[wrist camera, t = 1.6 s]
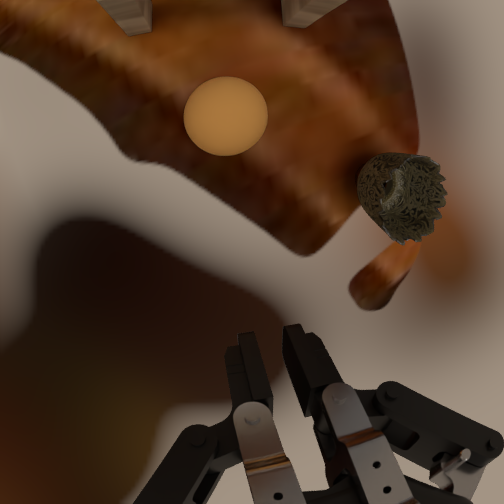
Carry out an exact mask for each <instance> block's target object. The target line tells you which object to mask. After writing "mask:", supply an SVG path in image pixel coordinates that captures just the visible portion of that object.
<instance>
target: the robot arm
mask: <svg viewBox="0 0 504 504" xmlns="http://www.w3.org/2000/svg"><path fill="white" fill-rule="evenodd" d="M237 335H238V346H230V347H227V350H226V353H225V356H224V357H225V364H226V370H227V376H228V382H229V388H230V394H231V399H232V411H231V413H230V415H229V416H228V417H227V418H226V419H225V420H224V421H222V422H220V423H218V424H215V425H213V426H211V427H207V426H205V425H200V424H196V425H191V426H189V427H187V428H185V429H184V430H183V431H182V432H181V434H180V435H179V437H178V438H177V440H176V441H175V443H174V444H173V446H172V447H171V449H170V450H169V452H168V453H167V455H166V456H165V458H164V459H163V461H162V462H161V464H160V465H159V467H158V468H157V470H156V471H155V473H154V474H153V475H152V477H151V478H150V480H149V481H148V483H147V484H146V486H145V487H144V489H143V490H142V491H141V493H140V494H139V496H138V497H137V499H136V500H135V501H134V503H133V504H206V503H207V501H208V500H209V498H210V496H211V494H212V493H213V491H214V489H215V487H216V486H217V483H218V482H219V480H220V478H221V476H222V475H223V473H224V471H225V469H227V468H230V467H232V466H234V465H236V464H238V463H241V462H243V464H244V468H245V472H246V476H247V479H248V483H249V487H250V491H251V494H252V498H253V501H254V504H473V503H472V502H471V501H470V500H471V498H472V496H473V494H474V492H475V490H476V488H477V486H478V483H479V481H480V479H481V476H482V474H483V471H484V469H485V467H486V465H487V464H488V463H490V462H491V461H492V460H494V459H495V458H496V457H498V456H499V455H500V454H501V452H502V451H503V448H504V440H503V437H502V435H501V434H500V433H499V432H497V431H495V430H493V429H491V428H488V427H486V426H484V425H482V424H480V423H478V422H476V421H473V420H471V419H469V418H467V417H465V416H463V415H461V414H459V413H457V412H455V411H453V410H451V409H449V408H447V407H445V406H442V405H440V404H438V403H437V402H435V401H433V400H431V399H429V398H427V397H425V396H423V395H421V394H419V393H417V392H415V391H413V390H411V389H409V388H407V387H406V386H404V385H402V384H400V383H398V382H394V381H387V382H384V383H382V384H381V385H380V386H379V387H378V389H376V390H357V389H353V388H352V387H351V386H350V385H348V384H345V383H344V382H343V380H342V378H341V376H340V374H339V373H338V371H337V369H336V367H335V365H334V363H333V361H332V359H331V357H330V356H329V353H328V352H327V350H326V349H325V346H324V344H323V342H322V340H321V339H320V338H319V337H318V336H317V335H315V334H314V333H313V332H311V333H306V334H305V332H304V330H303V328H302V326H301V324H294V325H288V326H284V327H283V335H282V355H283V359H284V363H285V365H286V368H287V371H288V374H289V376H290V379H291V382H292V384H293V387H294V390H295V392H296V395H297V398H298V401H299V403H300V406H301V409H302V411H303V414H304V417H309V416H312V418H313V420H314V425H313V430H314V433H315V436H316V439H317V442H318V445H319V448H320V451H321V454H322V457H323V460H324V463H325V475H326V479H327V482H328V485H329V489H327V490H322V491H321V490H320V491H305V492H302V491H301V488H300V485H299V483H298V480H297V477H296V474H295V472H294V469H293V467H292V464H291V462H290V460H289V458H288V457H286V455H285V453H284V450H283V447H282V444H281V441H280V438H279V435H278V432H277V429H276V427H275V424H274V421H273V394H272V391H271V387H270V384H269V381H268V378H267V374H266V371H265V368H264V364H263V361H262V357H261V354H260V350H259V347H258V343H257V340H256V336H255V333H254V331H252V332H246V333H239V334H237ZM392 451H393V452H395V453H397V454H398V455H400V456H402V457H404V458H406V459H408V460H410V461H412V462H414V463H416V464H417V465H419V466H422V467H423V468H425V469H427V470H429V471H430V476H429V480H430V481H431V482H433V483H435V484H437V485H438V486H439V488H440V489H439V488H436V487H433V486H431V485H428V484H426V483H423V482H420V481H417V480H415V479H413V478H411V477H408V476H406V475H403V473H402V471H401V469H400V467H399V465H398V462H397V460H396V458H395V456H394V454H393V452H392ZM373 467H374V468H373Z"/></svg>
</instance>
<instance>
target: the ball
mask: <svg viewBox="0 0 504 504" xmlns="http://www.w3.org/2000/svg"><path fill="white" fill-rule="evenodd" d="M267 120H268V111H267V106H266V102H265V100H264V98H263V96H262V94H261V93H260V92H259V91H258V90H257V88H256V87H254V86H253V85H252V84H250V83H249V82H247V81H245V80H243V79H240V78H236V77H228V76H224V77H217V78H213V79H211V80H208V81H206V82H204V83H203V84H201V85H200V86H199V87H197V88H196V89H195V90H194V92H193V93H192V94H191V95H190V97H189V99H188V101H187V103H186V106H185V110H184V125H185V128H186V131H187V133H188V135H189V137H190V138H191V140H192V141H193V142H194V143H195V144H196V145H197V146H198V147H199V148H201V149H202V150H204V151H206V152H208V153H211V154H214V155H219V156H230V155H236V154H239V153H242V152H244V151H246V150H248V149H249V148H251V147H252V146H253V145H254V144H255V143H257V141H258V140H259V139H260V138H261V136H262V135H263V133H264V131H265V128H266V125H267Z"/></svg>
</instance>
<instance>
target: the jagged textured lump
mask: <svg viewBox="0 0 504 504" xmlns="http://www.w3.org/2000/svg"><path fill="white" fill-rule="evenodd" d="M439 172H440V165H439V164H437V163H436V162H434V161H433V160H431V159H430V157H427V156H420V155H412V154H404V153H383V154H379V155H377V156H375V157H373V158H371V159H370V160H369V161H368V162H367V163H365V164H363V165H362V166H361V167H360V168H359V169H358V171H357V173H356V177H355V182H356V186H357V194H358V198H359V201H360V203H361V205H362V207H363V209H364V210H365V211H366V213H367V214H368V215H369V216H370V217H371V218H372V220H374V221H375V223H376V224H378V226H379V227H380V228H381V229H382V230H384V231H385V232H386V233H387V234H388V236H389V237H390V238H391V239H392V240H393V241H397V242H398V243H399V244H401V245H404V244H405V241H404V240H406V241H408V239H412V240H414V241H415V242H421V240H422V239H421V236H427V235H429V234H431V233H432V232H434V219H437V220H438V219H440V218H442V215H441V213H440V212H439V211H437V210H438V209H436V208H441V207H444V206H445V204H446V201H445V198H444V197H443V196H445V195H447V192H446V191H445V189H444V188H443V185H442V184H440V182H442V181H444V180H446V179H445V178H444V177H443V176H442V175H440V174H439Z"/></svg>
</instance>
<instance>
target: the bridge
mask: <svg viewBox="0 0 504 504" xmlns="http://www.w3.org/2000/svg"><path fill="white" fill-rule="evenodd" d="M346 1H347V0H281V4H282V18H283V26H289V27H299V28H306V27H307V26H309V25H310V24H312V23H313V22H315V21H316V20H318V19H319V18H320V17H322V16H323V15H325V14H327V13H328V12H330V11H331V10H333V9H334V8H336V7H338V6H339V5H341V4H342V3H344V2H346ZM97 2H98V3H99V4H100V5H101V6H102V7H103V8H104V9H105V10H106V11H107V13H108V14H109V15H110V16H111V17H112V18H113V19H114V20H115V21H116V23H117V24H118V25H119V26H120V27H121V28H122V29H123V31H124V32H125V33H126V34H127V35H128V36H133V35H137V34H143V33H148V32H152V2H151V0H97Z"/></svg>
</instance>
